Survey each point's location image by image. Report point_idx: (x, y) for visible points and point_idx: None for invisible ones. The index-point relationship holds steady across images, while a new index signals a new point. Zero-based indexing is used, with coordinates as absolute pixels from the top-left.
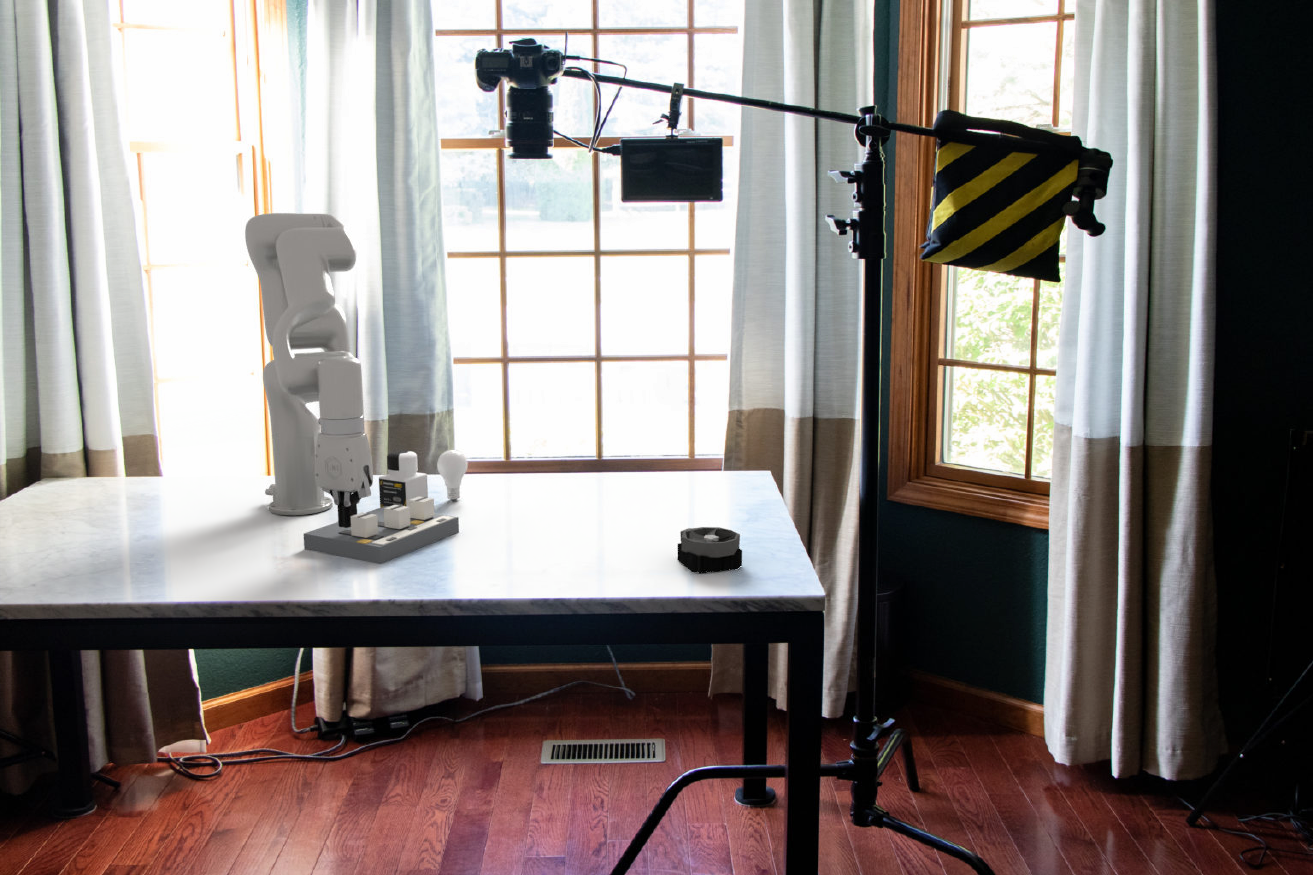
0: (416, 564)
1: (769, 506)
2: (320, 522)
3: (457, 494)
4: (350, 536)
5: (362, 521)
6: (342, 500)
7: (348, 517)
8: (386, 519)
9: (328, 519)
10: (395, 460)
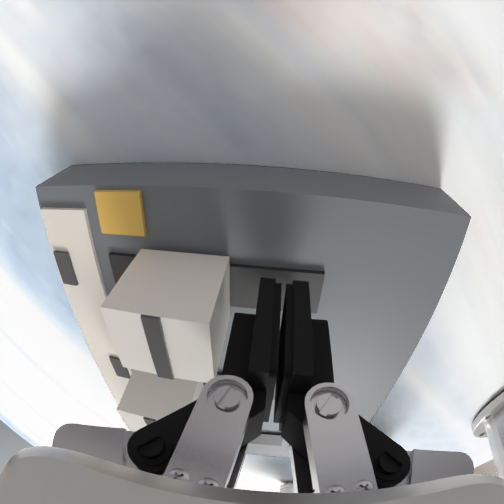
0: (15, 209)
1: (31, 443)
2: (475, 378)
3: (280, 491)
4: (238, 253)
5: (128, 298)
6: (297, 424)
7: (249, 329)
8: (185, 389)
9: (464, 394)
10: None
